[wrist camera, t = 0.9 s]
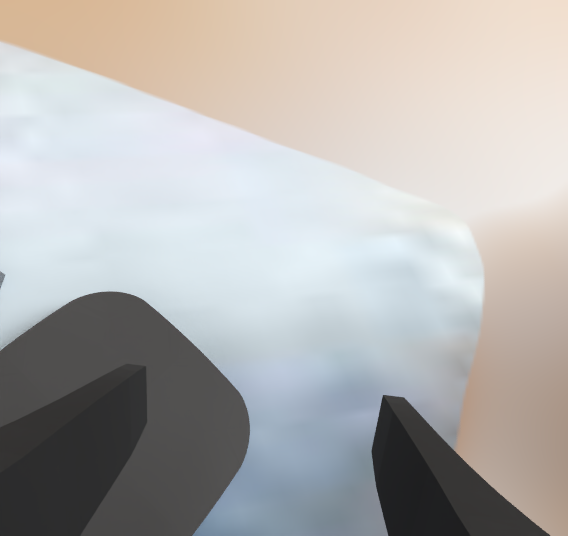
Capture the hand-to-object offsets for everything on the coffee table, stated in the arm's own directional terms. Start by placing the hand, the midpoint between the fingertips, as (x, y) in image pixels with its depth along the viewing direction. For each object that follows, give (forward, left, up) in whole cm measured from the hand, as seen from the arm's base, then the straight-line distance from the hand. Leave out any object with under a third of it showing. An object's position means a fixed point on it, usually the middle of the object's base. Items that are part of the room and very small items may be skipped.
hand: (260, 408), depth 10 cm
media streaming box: (-3, +7, -15) cm, 16 cm away
